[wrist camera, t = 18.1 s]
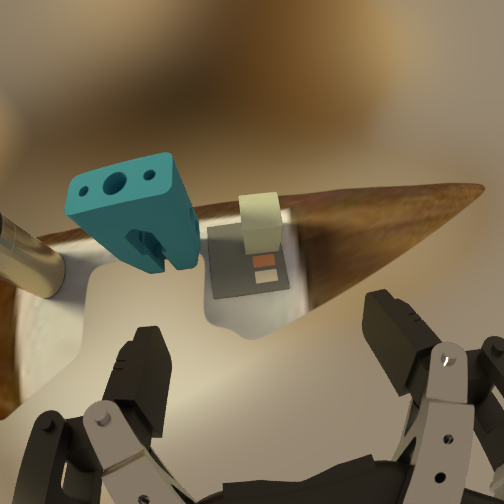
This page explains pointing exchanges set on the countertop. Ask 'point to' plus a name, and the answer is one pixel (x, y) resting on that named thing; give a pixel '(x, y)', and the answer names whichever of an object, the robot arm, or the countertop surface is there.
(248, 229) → the sage block
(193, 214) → the block
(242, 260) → the marker mat
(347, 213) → the countertop surface
